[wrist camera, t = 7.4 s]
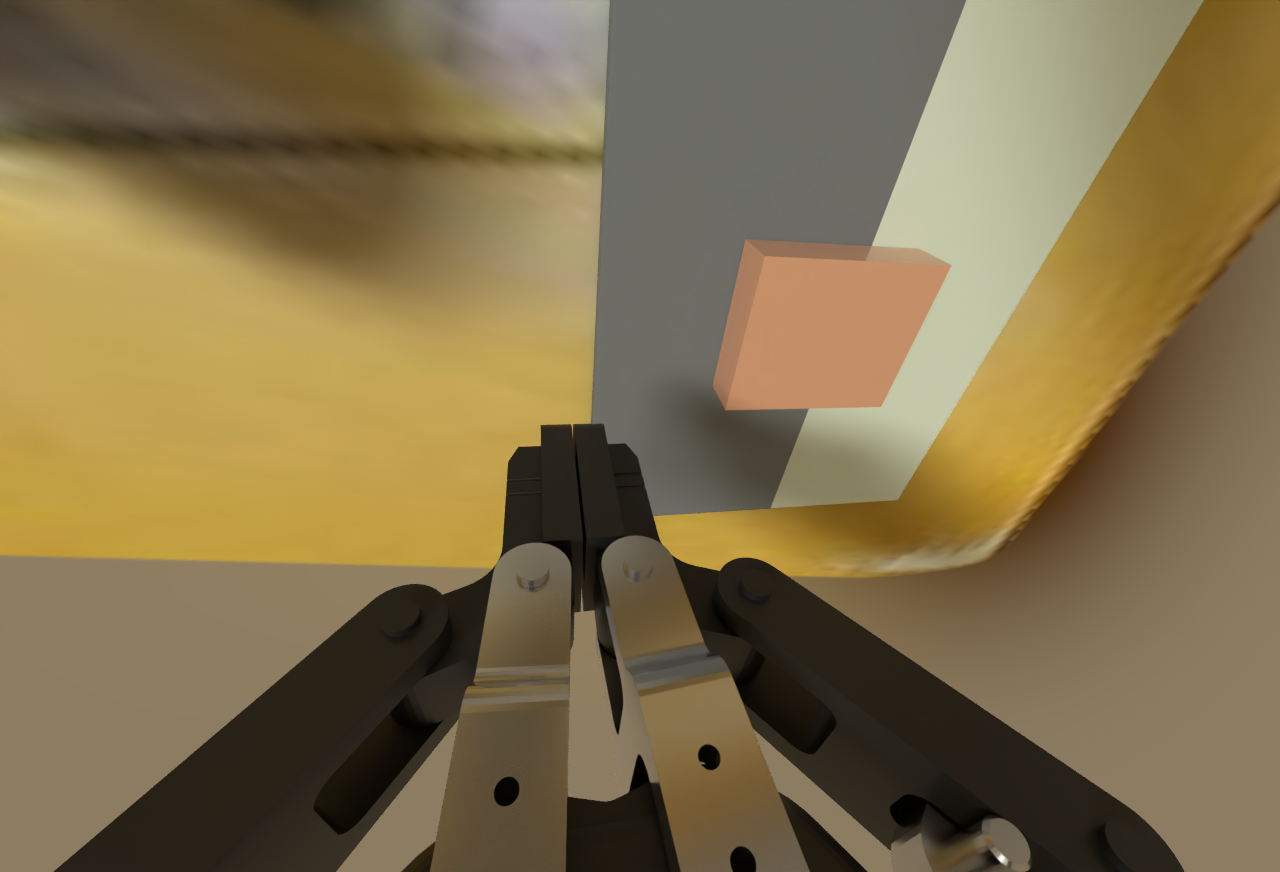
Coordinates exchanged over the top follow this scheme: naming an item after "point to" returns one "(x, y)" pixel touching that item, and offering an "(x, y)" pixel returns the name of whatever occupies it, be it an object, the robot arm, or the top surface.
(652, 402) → the mat
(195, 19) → the top surface
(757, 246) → the tile
